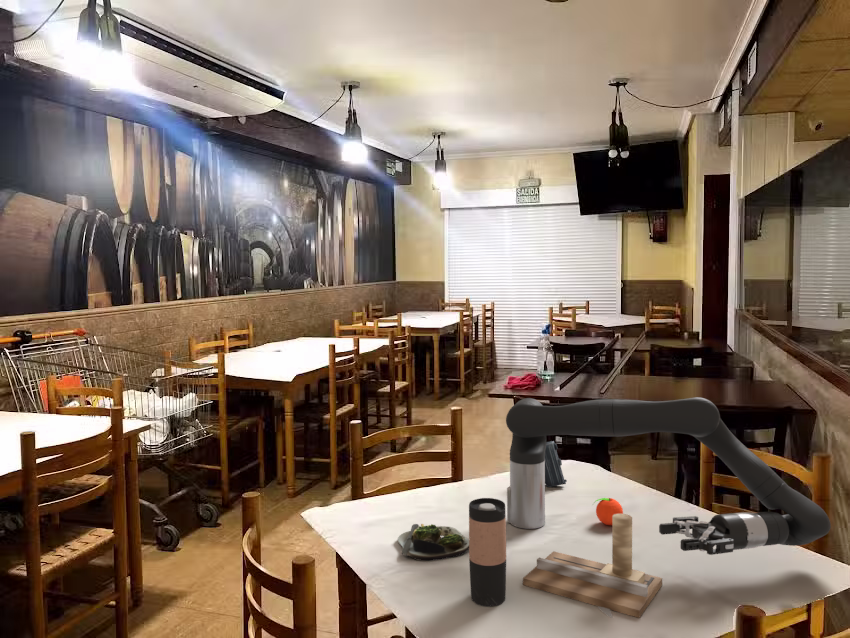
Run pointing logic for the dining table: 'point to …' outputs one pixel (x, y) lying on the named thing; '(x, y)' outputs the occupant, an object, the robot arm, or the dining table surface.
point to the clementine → (607, 510)
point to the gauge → (622, 551)
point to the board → (591, 584)
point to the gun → (553, 466)
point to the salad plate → (433, 542)
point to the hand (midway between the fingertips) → (670, 537)
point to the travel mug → (487, 551)
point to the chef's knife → (606, 611)
